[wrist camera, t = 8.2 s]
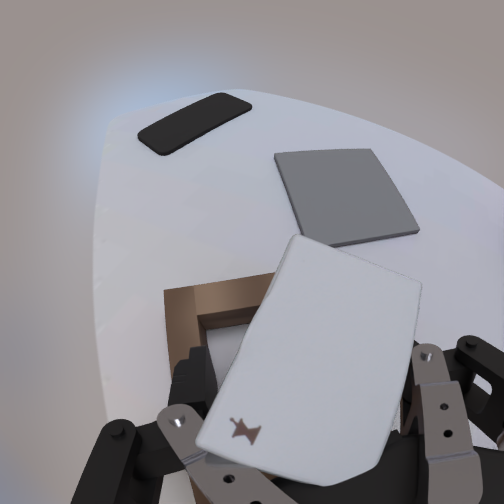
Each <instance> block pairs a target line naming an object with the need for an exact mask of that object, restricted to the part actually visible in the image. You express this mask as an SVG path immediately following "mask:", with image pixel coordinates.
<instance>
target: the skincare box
mask: <svg viewBox="0 0 504 504" xmlns="http://www.w3.org/2000/svg"><path fill="white" fill-rule="evenodd" d="M421 290H422V283H421V282H420V281H417V280H414V279H412V278H409V277H407V276H404V275H401V274H399V273H396V272H394V271H391V270H389V269H386V268H383V267H381V266H378V265H376V264H373V263H371V262H368V261H366V260H363V259H361V258H359V257H356V256H353V255H351V254H348V253H346V252H343V251H341V250H338V249H335V248H333V247H330V246H328V245H325V244H322V243H320V242H317V241H315V240H312V239H310V238H307V237H305V236H302V235H300V234H295V235H293V236H292V238H291V239H290V241H289V243H288V245H287V248H286V250H285V252H284V255H283V257H282V259H281V261H280V264H279V266H278V268H277V270H276V272H275V275H274V277H273V279H272V281H271V283H270V286H269V288H268V290H267V292H266V294H265V296H264V299H263V301H262V303H261V305H260V307H259V309H258V310H257V312H256V314H255V315H254V317H253V319H252V321H251V323H250V325H249V327H248V329H247V331H246V333H245V335H244V337H243V340H242V342H241V346H240V348H239V350H238V352H237V354H236V356H235V358H234V360H233V362H232V364H231V366H230V369H229V371H228V373H227V375H226V377H225V379H224V381H223V383H222V385H221V388H220V390H219V392H218V394H217V396H216V398H215V400H214V402H213V404H212V406H211V408H210V410H209V412H208V414H207V416H206V418H205V420H204V422H203V424H202V427H201V429H200V431H199V433H198V435H197V437H196V439H195V444H196V446H197V447H198V448H201V449H203V450H205V451H208V452H210V453H213V454H215V455H217V456H220V457H222V458H225V459H227V460H230V461H233V462H235V463H238V464H242V465H246V466H250V467H255V468H256V469H257V470H258V471H261V472H265V473H268V474H271V475H275V476H278V477H282V478H285V479H289V480H293V481H297V482H301V483H306V484H314V485H319V486H330V485H334V484H337V483H340V482H342V481H345V480H347V479H350V478H352V477H355V476H357V475H359V474H362V473H364V472H366V471H368V470H370V469H372V468H373V467H375V466H376V465H377V463H378V462H379V460H380V457H381V455H382V452H383V450H384V447H385V445H386V442H387V440H388V437H389V434H390V431H391V428H392V425H393V422H394V419H395V416H396V413H397V410H398V406H399V403H400V399H401V396H402V392H403V388H404V384H405V380H406V376H407V372H408V367H409V363H410V358H411V353H412V348H413V343H414V337H415V332H416V325H417V319H418V312H419V305H420V297H421Z"/></svg>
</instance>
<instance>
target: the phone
mask: <svg viewBox="0 0 504 504" xmlns="http://www.w3.org/2000/svg"><path fill="white" fill-rule="evenodd" d="M251 109H252V105H251V104H250V103H248V102H246V101H243V100H241V99H239V98H236V97H234V96H231V95H229V94H226V93H216V94H213V95H211V96H209V97H206V98H204V99H202V100H199V101H197V102H195V103H193V104H191V105H189V106H187V107H185V108H182V109H180V110H178V111H176V112H174V113H172V114H170V115H168V116H166V117H165V118H163V119H161V120H159V121H157V122H155V123H153V124H151V125H150V126H148V127H146V128H144V129H143V130H141V131H140V132H139V133H138V135H137V136H138V139H139V140H140V141H141V142H142V143H144V144H145V145H146V146H148V147H149V148H150V149H152V150H153V151H154V152H156V153H157V154H159V155H161V156H165V155H169V154H171V153H173V152H175V151H176V150H178V149H180V148H181V147H183V146H185V145H187V144H189V143H190V142H192V141H194V140H195V139H197V138H199V137H201V136H203V135H204V134H206V133H208V132H209V131H211V130H213V129H215V128H217V127H219V126H221V125H222V124H224V123H226V122H228V121H230V120H232V119H234V118H236V117H238V116H240V115H242V114H244V113H246V112H248V111H250V110H251Z"/></svg>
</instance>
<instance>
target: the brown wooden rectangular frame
mask: <svg viewBox="0 0 504 504" xmlns="http://www.w3.org/2000/svg"><path fill="white" fill-rule="evenodd" d="M274 275H275V272H274V273H268V274H262V275H256V276H250V277H244V278H238V279H232V280H226V281H220V282H213V283H207V284H201V285H194V286H187V287H181V288H174V289H167V290H164V305H165V319H166V331H167V342H168V352H169V361H170V370H171V378H172V377H173V372H174V367H175V366H176V365H177V363H178V362H179V361H180V360H183V359H189V351H190V347H196V346H203V345H207V346H208V344H207V337H206V330H208V329H215V328H222V327H228V326H234V325H240V324H246V323H251V321H252V319H253V317H254V315H255V314H256V312H257V310H258V309H259V307H260V305H261V303H262V301H263V299H264V296H265V294H266V292H267V290H268V288H269V286H270V283H271V281H272V279H273V277H274ZM390 432H391V431H390ZM260 472H261V471H260ZM261 473H262V474H263V475H264V476H265V477H266V478H267V479H269V480H271V479H273V478H276V477H278V476H275V475H271V474H268V473H265V472H261ZM189 477H190V476H189ZM190 482H191V486H192V489H193V493H194V497H195V501H196V504H211V503H210V502H209V500H208V499H207V498H206V497H205V495H204V494H203V493H202V492H201V490H200V489H199V488H198V486H197V485H196V484H195V482H194V481H193V480H192V478H191V477H190Z"/></svg>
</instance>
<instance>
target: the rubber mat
mask: <svg viewBox="0 0 504 504" xmlns="http://www.w3.org/2000/svg"><path fill="white" fill-rule="evenodd" d="M274 159H275V161H276V164H277V166H278V169H279V172H280V174H281V177H282V180H283V182H284V185H285V188H286V191H287V193H288V196H289V199H290V202H291V205H292V207H293V210H294V213H295V216H296V219H297V222H298V225H299V227H300V230H301V233H302V236H305V237H307V238H310V239H312V240H315V241H317V242H320V243H322V244H325V245H328V246H330V247H339V246H345V245H351V244H356V243H362V242H368V241H374V240H380V239H385V238H391V237H397V236H403V235H408V234H414V233H418V232H419V230H420V228H419V226H418V224H417V222H416V220H415V219H414V217H413V215H412V213H411V211H410V210H409V208H408V206H407V204H406V203H405V201H404V199H403V198H402V196H401V194H400V193H399V191H398V189H397V188H396V186H395V184H394V183H393V181H392V180H391V178H390V177H389V175H388V173H387V172H386V170H385V169H384V167H383V166H382V164H381V163H380V161H379V160H378V159H377V157H376V156H375V154H374V153H373V151H372V150H371V149H333V150H312V151H297V152H284V153H274Z"/></svg>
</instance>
